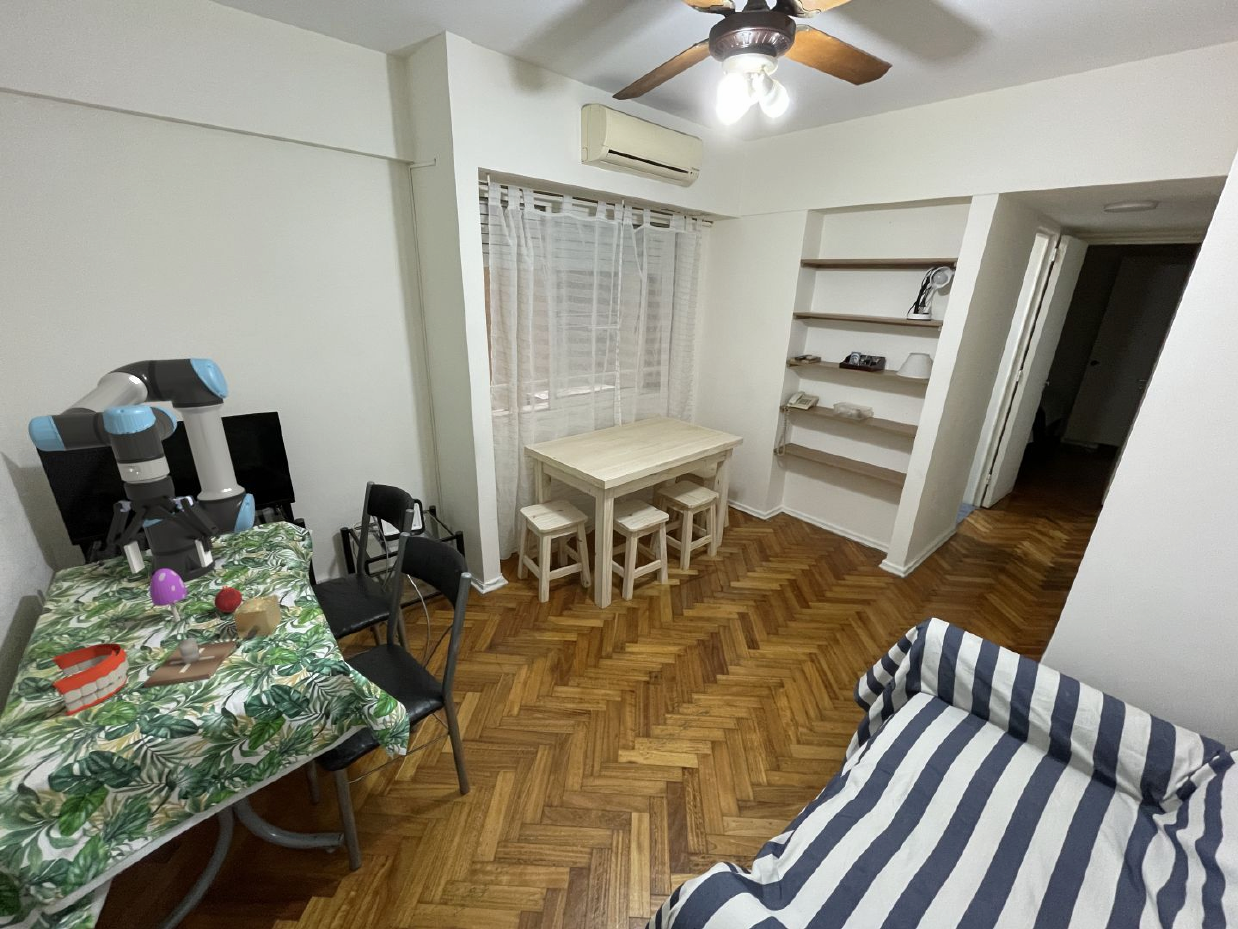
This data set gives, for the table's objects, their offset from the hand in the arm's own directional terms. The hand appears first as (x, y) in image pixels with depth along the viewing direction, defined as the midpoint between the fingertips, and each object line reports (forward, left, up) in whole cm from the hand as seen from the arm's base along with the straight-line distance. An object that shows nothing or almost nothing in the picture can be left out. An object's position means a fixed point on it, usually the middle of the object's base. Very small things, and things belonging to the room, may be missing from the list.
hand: (173, 567), depth 111 cm
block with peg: (-6, +11, -22) cm, 25 cm away
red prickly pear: (-16, 0, -22) cm, 27 cm away
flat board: (+6, +2, -22) cm, 23 cm away
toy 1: (+10, -13, -22) cm, 28 cm away
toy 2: (-15, -12, -22) cm, 29 cm away
